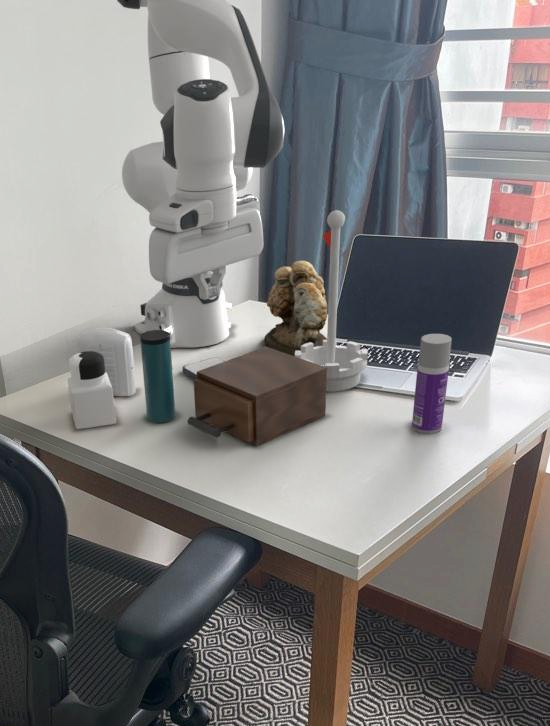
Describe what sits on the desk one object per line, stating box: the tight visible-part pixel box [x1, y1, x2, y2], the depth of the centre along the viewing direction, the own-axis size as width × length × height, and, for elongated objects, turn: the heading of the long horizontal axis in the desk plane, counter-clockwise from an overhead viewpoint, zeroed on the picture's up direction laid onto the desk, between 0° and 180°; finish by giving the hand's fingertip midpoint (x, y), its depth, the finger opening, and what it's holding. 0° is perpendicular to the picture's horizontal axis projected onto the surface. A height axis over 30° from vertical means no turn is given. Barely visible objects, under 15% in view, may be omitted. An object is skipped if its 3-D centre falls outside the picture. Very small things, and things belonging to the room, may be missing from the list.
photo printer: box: [78, 327, 137, 397], centre depth 155 cm, size 10×4×12 cm, turn 69°
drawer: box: [186, 378, 254, 443], centre depth 139 cm, size 19×14×7 cm
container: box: [411, 333, 453, 435], centre depth 131 cm, size 5×5×15 cm
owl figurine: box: [263, 260, 328, 356], centre depth 166 cm, size 18×12×17 cm, turn 26°
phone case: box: [181, 356, 226, 381], centre depth 159 cm, size 9×2×16 cm
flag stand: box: [295, 209, 369, 392], centre depth 147 cm, size 13×13×30 cm
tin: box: [139, 330, 176, 424], centre depth 143 cm, size 5×5×15 cm
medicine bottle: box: [67, 351, 117, 430], centre depth 145 cm, size 7×7×12 cm
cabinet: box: [197, 345, 327, 447], centre depth 141 cm, size 16×15×9 cm
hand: (209, 296), depth 132 cm, fingers closed
